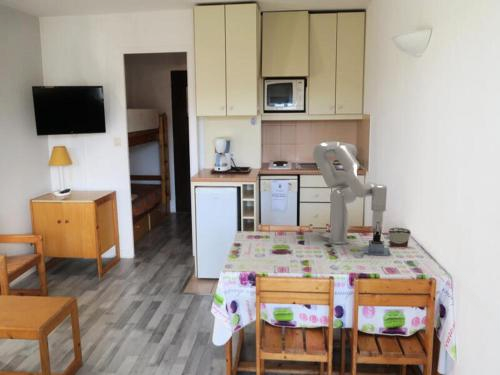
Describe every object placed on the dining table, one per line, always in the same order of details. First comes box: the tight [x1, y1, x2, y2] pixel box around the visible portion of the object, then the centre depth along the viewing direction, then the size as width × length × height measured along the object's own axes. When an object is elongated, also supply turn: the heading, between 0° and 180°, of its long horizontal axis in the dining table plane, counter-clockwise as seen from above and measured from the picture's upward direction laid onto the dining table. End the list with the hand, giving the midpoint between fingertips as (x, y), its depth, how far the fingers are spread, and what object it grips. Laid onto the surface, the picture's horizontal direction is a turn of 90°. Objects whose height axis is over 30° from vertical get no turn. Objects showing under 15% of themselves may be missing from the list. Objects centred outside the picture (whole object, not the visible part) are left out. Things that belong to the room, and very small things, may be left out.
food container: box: [387, 227, 412, 248], centre depth 248 cm, size 12×6×10 cm, turn 84°
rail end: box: [372, 228, 382, 244], centre depth 237 cm, size 4×4×10 cm
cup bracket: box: [362, 239, 391, 257], centre depth 238 cm, size 14×12×5 cm
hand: (376, 240), depth 237 cm, fingers closed on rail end, 4 cm apart
